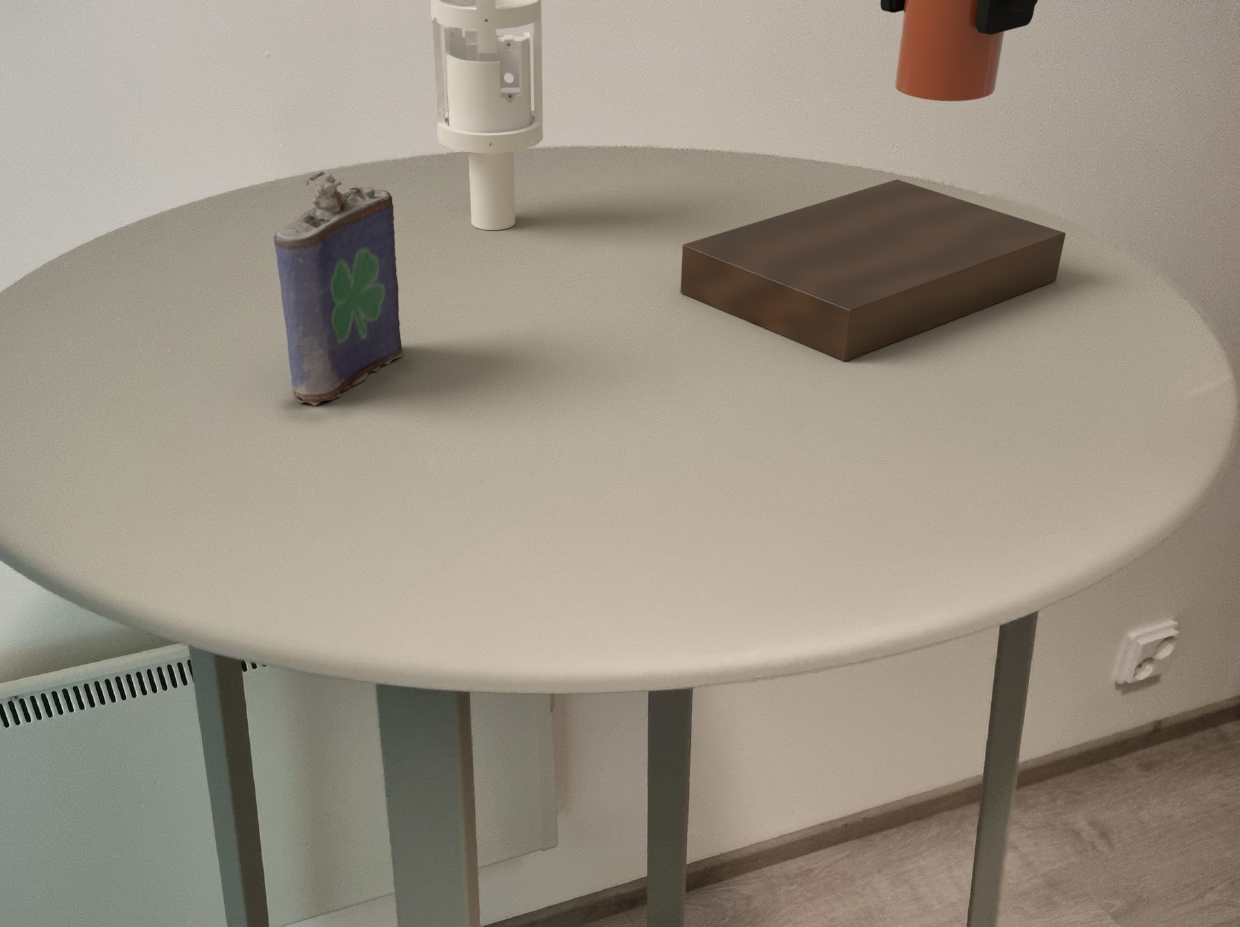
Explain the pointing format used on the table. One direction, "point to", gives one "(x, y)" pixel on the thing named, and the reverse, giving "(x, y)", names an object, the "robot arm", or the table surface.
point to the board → (870, 266)
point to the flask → (339, 289)
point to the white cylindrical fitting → (488, 96)
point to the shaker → (946, 52)
